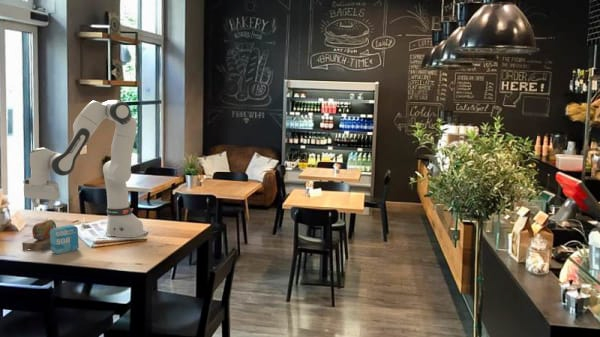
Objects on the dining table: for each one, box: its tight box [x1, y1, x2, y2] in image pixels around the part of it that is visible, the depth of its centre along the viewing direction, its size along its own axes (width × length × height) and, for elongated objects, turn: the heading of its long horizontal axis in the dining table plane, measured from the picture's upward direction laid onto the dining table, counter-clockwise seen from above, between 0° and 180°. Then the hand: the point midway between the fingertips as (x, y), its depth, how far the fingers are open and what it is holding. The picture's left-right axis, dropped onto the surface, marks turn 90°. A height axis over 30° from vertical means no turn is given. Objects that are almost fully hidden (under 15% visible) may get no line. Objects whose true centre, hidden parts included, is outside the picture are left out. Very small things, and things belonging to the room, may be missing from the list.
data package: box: [50, 224, 80, 255], centre depth 293 cm, size 12×4×12 cm, turn 137°
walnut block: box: [21, 237, 51, 252], centre depth 305 cm, size 12×20×4 cm, turn 168°
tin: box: [31, 219, 57, 240], centre depth 305 cm, size 15×3×8 cm, turn 164°
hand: (43, 207), depth 303 cm, fingers open, 8 cm apart
